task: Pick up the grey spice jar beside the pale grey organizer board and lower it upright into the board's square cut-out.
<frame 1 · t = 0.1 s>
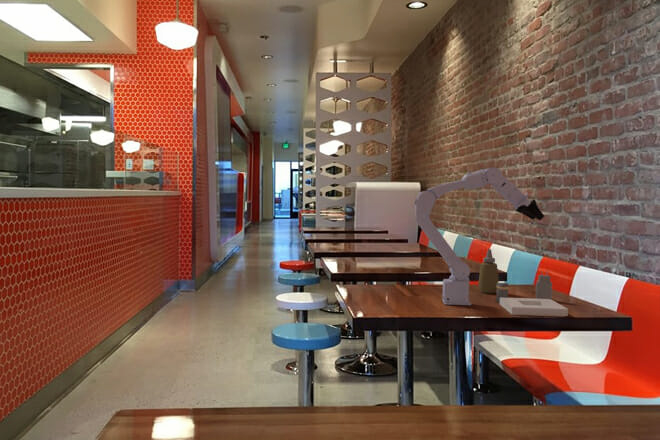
hand: (538, 218, 193), 32 cm above the table, tool tilted 50°, fingers open, 7 cm apart
power adapter: (543, 300, 206), on the table
squeeze bottle: (488, 293, 221), on the table
organizer board: (531, 310, 187), on the table
grey spice jar: (502, 301, 201), on the table
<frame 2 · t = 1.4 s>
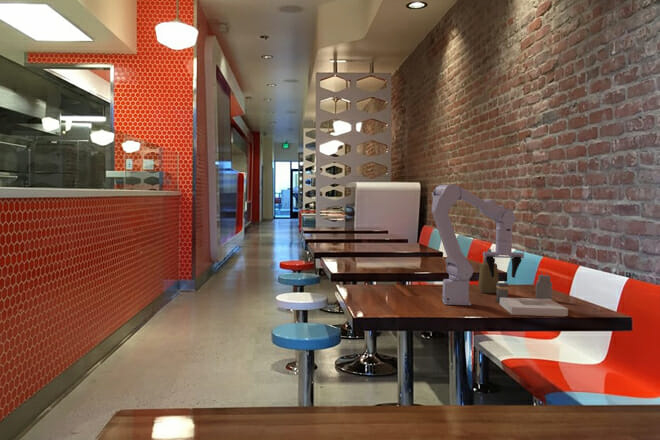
hand: (502, 276, 201), 9 cm above the table, tool pointing down, fingers open, 7 cm apart
nothing on the table moved.
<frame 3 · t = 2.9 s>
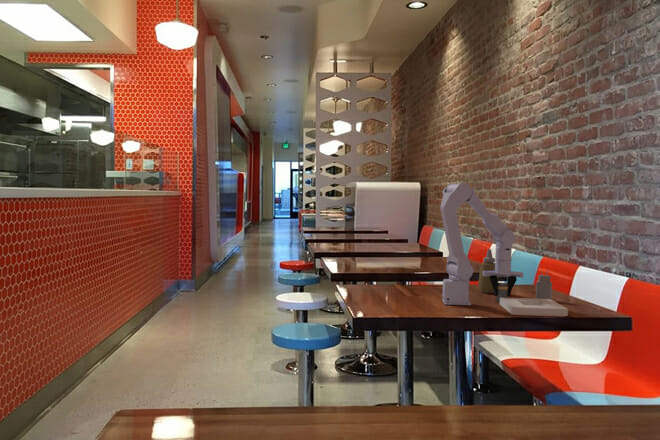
hand: (502, 296, 201), 2 cm above the table, tool pointing down, fingers closed on grey spice jar, 4 cm apart
grey spice jar: (502, 301, 201), on the table, touching gripper
everything else where it was.
when the fingers open (3 cm above the table, at t = 8.5 s): grey spice jar stays where it is, resting in organizer board.
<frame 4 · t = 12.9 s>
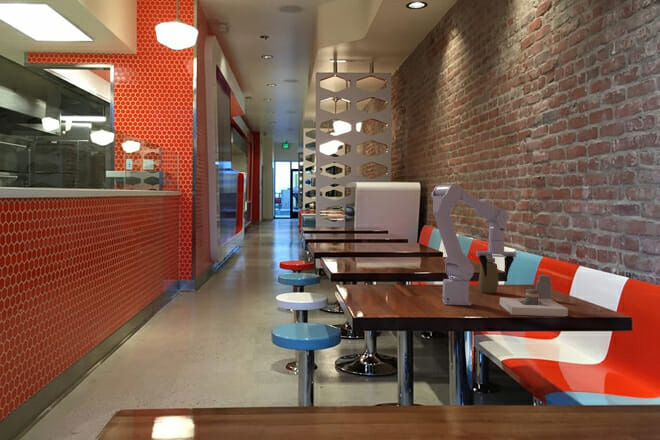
hand: (495, 275, 204), 9 cm above the table, tool pointing down, fingers open, 7 cm apart
grey spice jar: (531, 310, 187), resting in organizer board
everything else where it was.
at the end: grey spice jar 0.1 cm off-centre on the organizer board, point 0.0 cm above the organizer board's base; grey spice jar tilted 0°; the gripper is holding nothing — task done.
